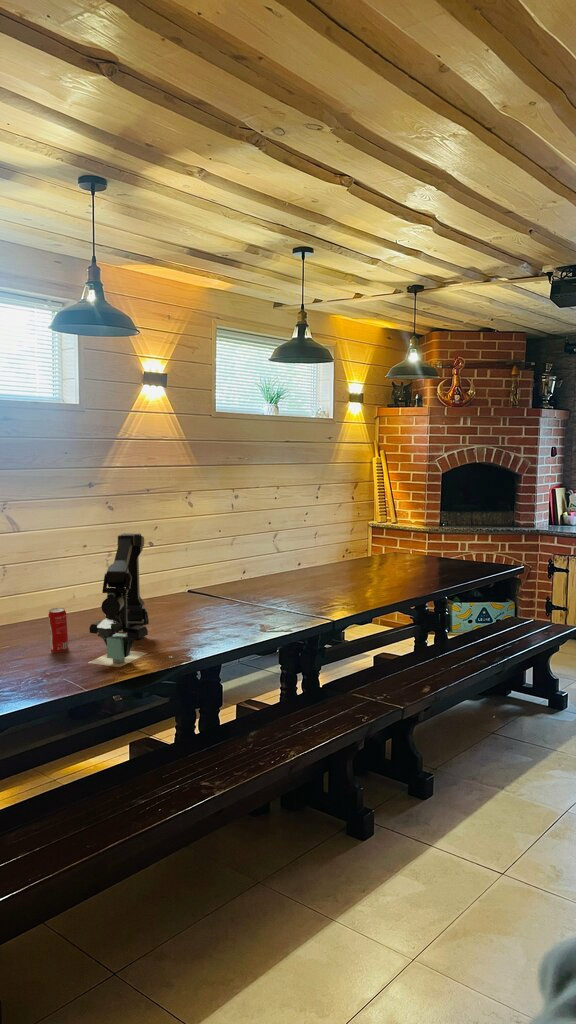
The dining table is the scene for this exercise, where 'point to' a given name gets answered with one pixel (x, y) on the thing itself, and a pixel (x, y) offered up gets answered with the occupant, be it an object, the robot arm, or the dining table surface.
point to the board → (109, 662)
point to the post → (118, 661)
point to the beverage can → (58, 630)
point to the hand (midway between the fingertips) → (118, 655)
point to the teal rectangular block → (116, 646)
